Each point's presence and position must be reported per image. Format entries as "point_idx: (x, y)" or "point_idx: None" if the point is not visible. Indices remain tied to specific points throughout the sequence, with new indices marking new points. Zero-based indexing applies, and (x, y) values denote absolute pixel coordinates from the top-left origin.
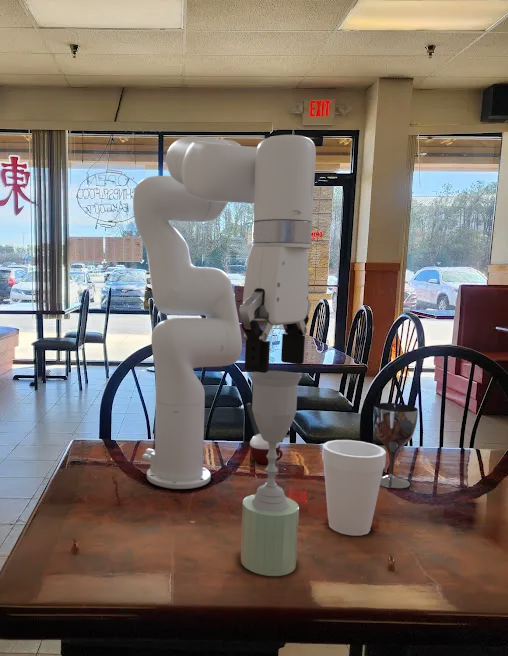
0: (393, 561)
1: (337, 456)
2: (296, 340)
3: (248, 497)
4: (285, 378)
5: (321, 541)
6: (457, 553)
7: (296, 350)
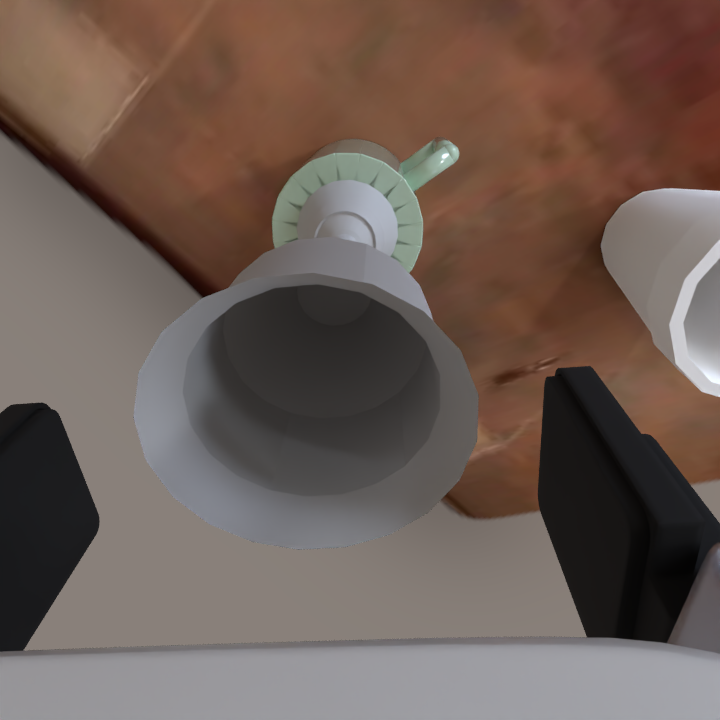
0: (537, 370)
1: (671, 300)
2: (595, 615)
3: (339, 159)
4: (447, 394)
5: (529, 231)
6: (650, 434)
7: (568, 543)
